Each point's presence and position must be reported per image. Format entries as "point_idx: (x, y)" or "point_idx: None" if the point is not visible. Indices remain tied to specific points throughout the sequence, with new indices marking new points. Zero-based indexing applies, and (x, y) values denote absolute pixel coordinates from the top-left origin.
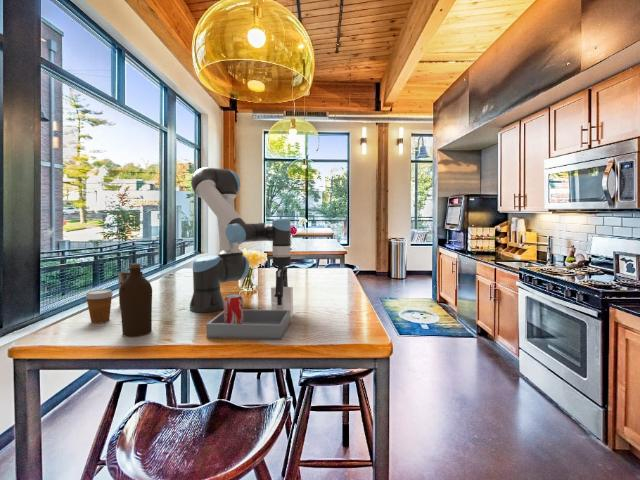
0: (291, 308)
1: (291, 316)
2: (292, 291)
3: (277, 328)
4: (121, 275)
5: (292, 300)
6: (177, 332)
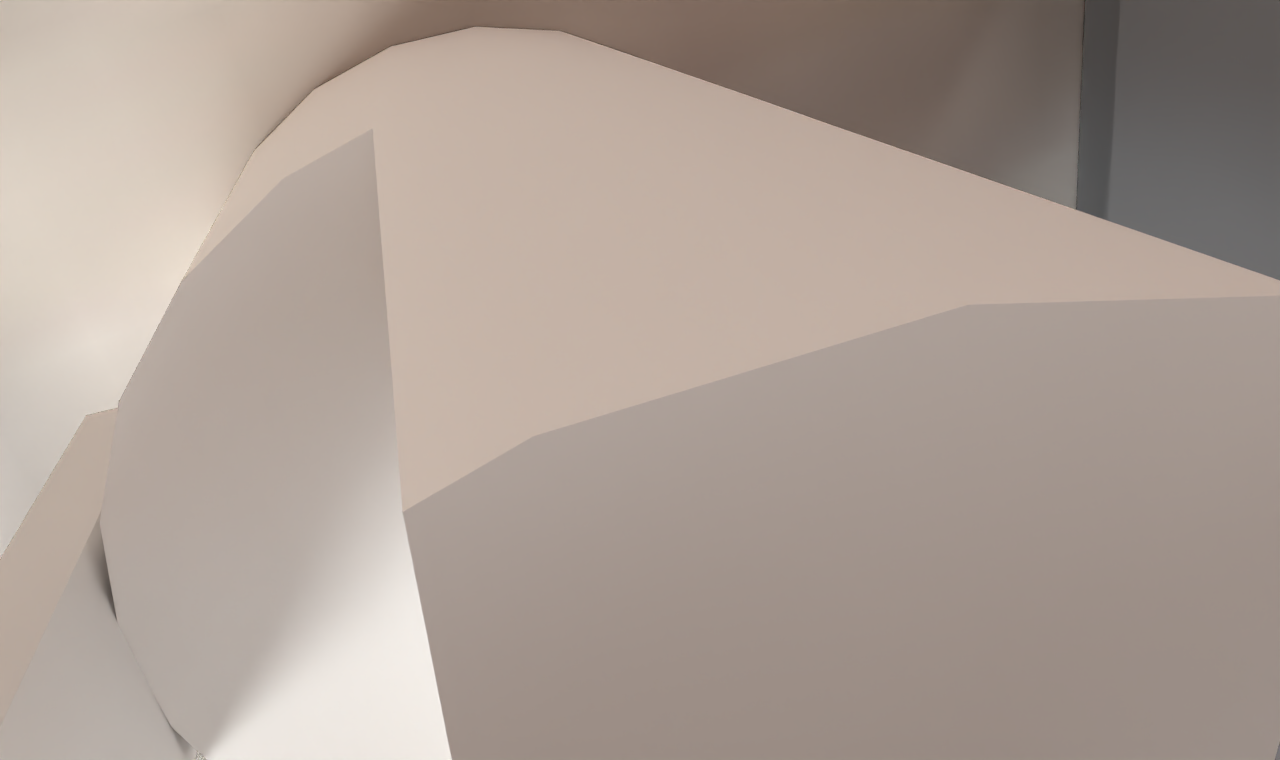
0: (621, 53)
1: (564, 33)
2: (740, 188)
3: None
4: None
5: (570, 82)
6: None
